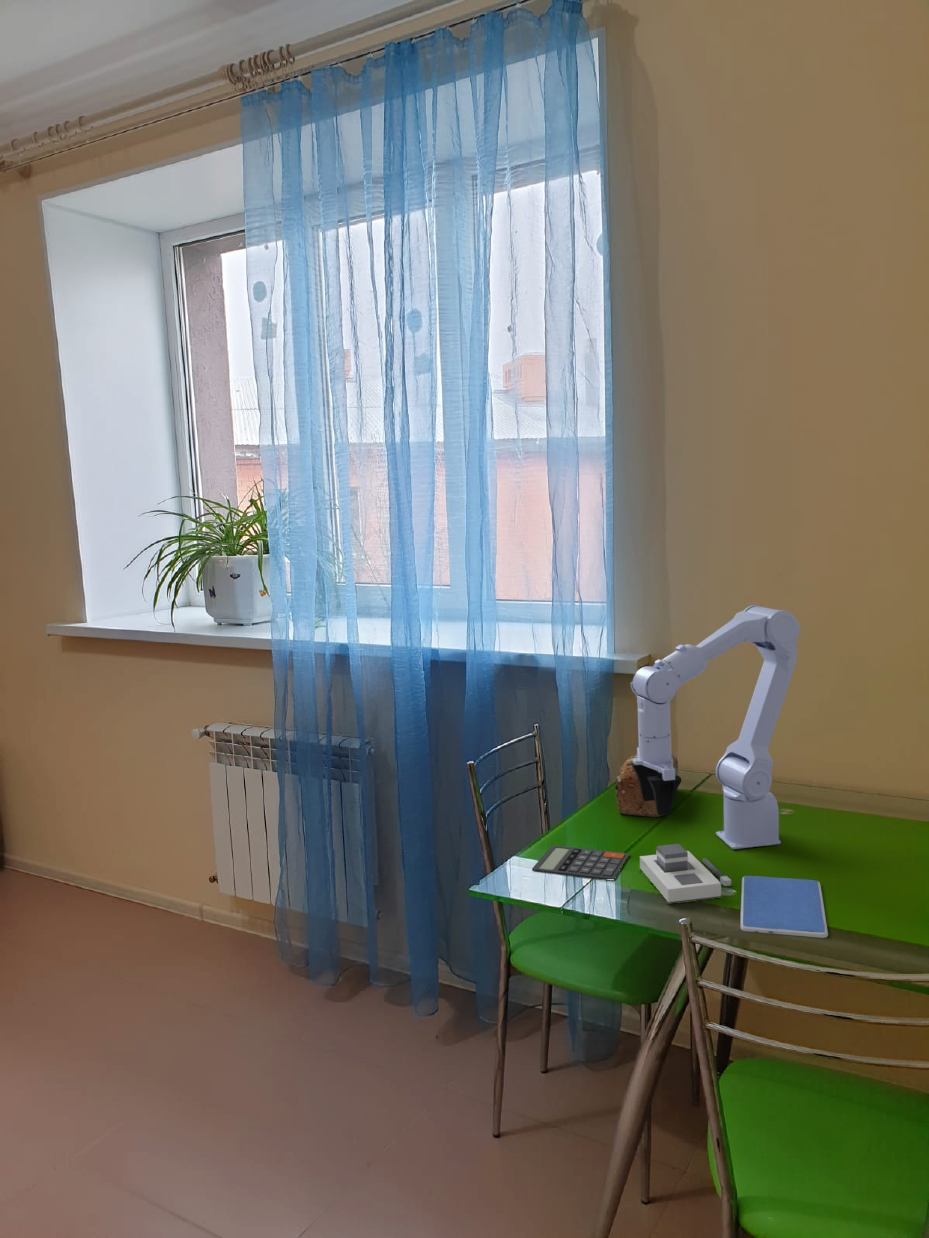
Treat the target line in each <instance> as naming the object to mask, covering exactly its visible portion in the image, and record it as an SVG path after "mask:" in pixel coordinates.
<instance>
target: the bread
mask: <svg viewBox="0 0 929 1238" xmlns="http://www.w3.org/2000/svg"><path fill="white" fill-rule="evenodd" d="M671 757H672V758H673V768H674V769H675V776H678V771H679V769H678V768H679V766H678V763H679V762H678V758H677V756H675V755H674V754H671ZM633 758H637V753H636V754H635V755H631V756H630V757H627V759H625V761H624V763H623V765H622V766H620V768H619V773H618V775H617V777H616V778H615V780H616V781H615V799H616V800H617V801H616V805H617V809H618V813H621V814H624V815H628V816H640V817H651V818H660V817H662V816H663V815H658V813H657V810H656V805H655V800H652V801H644V800H643V797H642V794H641V789H640V785H639V781H638V778H637V776H636V773H635V771H634V769H633V767H632V766H631V763H632V762H633Z"/></svg>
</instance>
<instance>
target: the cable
mask: <svg viewBox="0 0 929 1238" xmlns="http://www.w3.org/2000/svg"><path fill="white" fill-rule="evenodd" d="M702 863H703V864H704V865H705V867H707V868H708V869H709V870H710V871H711V873H713V874H714V875H715V877H717V879H718V880H719V882H720V883H721V885H723V886H724V887H728V886H732V879H731V878H729V877H728V875H724V874H723V873H722V872H721V871H720V870H719V869H718V868H717V867H716V866H715V865H713V863H711V862H710V860H708V858H706V857H703V858H702Z"/></svg>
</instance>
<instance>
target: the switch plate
mask: <svg viewBox="0 0 929 1238" xmlns="http://www.w3.org/2000/svg"><path fill="white" fill-rule="evenodd" d="M686 851H687V853H688V870H685V871H676V872H668V873H664V871H663V870H662V869H661V868H660V867H659V866H658V865H657V854H649V855H640V856H639V870H640V869H641V870H642V871H643V873H645V875H646V876H647V877H648V878H649V879H650V881H651V882H652V883H653V884H654V886H656V888H657V889H658V890H659V891H660V893H661V894H662V895H663V897H664V898H665V899H666V900H667V902H668V903H677V902H683V901H690V900H691V901H692V900H703V901H708V900H707V899H711V900H716V899H715V898H719V897H721V898H722V883H721V882H720V880H719V879H718V878H716V876H714V875H713V874H712V872H710V871H709V870H708V869H707V868H706V866H704V865H703V864H702V863H701V861H700V860H699V859H697V858H696V857H695V856H694V854H692V853H691V852H690V851H689V850H686ZM643 873H642V874H643ZM667 902H666V903H667Z"/></svg>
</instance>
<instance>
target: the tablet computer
mask: <svg viewBox="0 0 929 1238" xmlns="http://www.w3.org/2000/svg"><path fill="white" fill-rule="evenodd" d="M740 897H741V899H740V916H739V917H740V920H739V922H740V929H741V931H743V932H749V933H751V932H752V933H763V934H774V935H775V934H776V935H783V936H784V935H787V936H798V937H810V938H818V939H819V938H820V939H824V938H827V937H828V936H829V932H828V925H827V919H826V912H825V911H826V910H825V905H824V898H823V892H822V888H821V883H820V881H818V880H813V879H805V878H804V879H803V878H787V877H785V878H784V877H771V876H770V877H769V876H756V875H754V876H753V875H745V876H743V877H742V879H741V896H740Z"/></svg>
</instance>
